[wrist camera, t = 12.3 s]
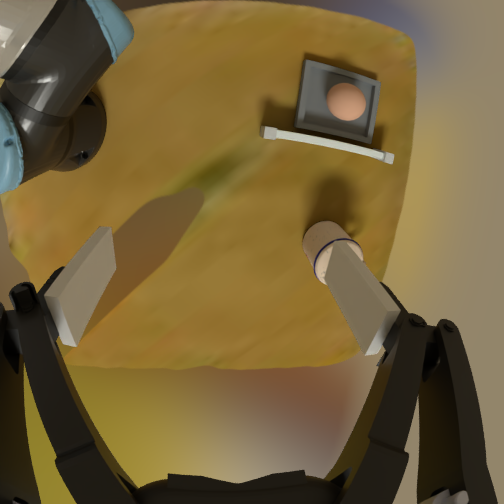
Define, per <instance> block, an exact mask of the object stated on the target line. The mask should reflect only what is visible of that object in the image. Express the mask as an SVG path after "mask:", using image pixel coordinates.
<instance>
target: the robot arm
mask: <svg viewBox="0 0 504 504" xmlns="http://www.w3.org/2000/svg"><path fill="white" fill-rule="evenodd" d="M133 37H134V29H133V26H132V24H131V22H130V21H129V19H128V18H127V17H126V15H125V14H124V13H123V12H122V11H121V10H120V9H119V7H118V6H117V5H116V4H115V3H114V2H113V1H112V0H0V78H2V79H5V81H4V82H3V84H2V86H1V88H0V194H2V193H4V192H6V191H9V190H14V189H16V188H17V187H18V186H19V185H21V184H22V183H24V182H26V181H28V180H30V179H32V178H34V177H36V176H38V175H40V174H42V173H44V172H47V171H49V170H55V171H62V172H65V171H72V170H75V169H77V168H79V167H81V166H83V165H85V164H87V163H88V162H89V161H90V160H91V159H92V158H93V157H94V156H95V155H96V154H97V152H98V151H99V149H100V147H101V145H102V143H103V140H104V137H105V132H106V114H105V110H104V107H103V105H102V103H101V101H100V99H99V98H98V97H97V96H96V95H95V94H94V93H93V92H91V91H90V90H91V89H92V88H93V86H94V85H95V84H96V82H97V81H98V80H99V79H100V77H101V76H102V75H103V74H104V73H105V71H106V70H107V69H108V68H109V67H110V65H111V64H114V63H115V62H116V61H117V58H118V56H119V55H120V54H121V53H122V52H123V51H124V49H125V48H126V47H127V46H128V45H129V44H130V43H131V41H132V39H133ZM115 270H116V263H115V256H114V248H113V239H112V229H111V227H99V228H98V229H97V230H96V231H95V233H94V234H93V235H92V236H91V237H90V238H89V239H88V240H87V242H86V243H85V244H84V245H83V246H82V247H81V249H80V250H79V251H78V252H77V253H76V254H75V256H74V257H73V258H72V259H71V261H70V262H69V263H68V264H67V265H66V267H63V266H62V267H60V268H59V269H57V270H56V271H54V273H53V274H52V275H51V276H50V279H48V280H47V281H46V284H44V285H43V287H42V288H41V289H40V291H39V292H38V293H36V290H35V287H34V285H33V284H32V283H30V282H23V283H20V284H17V285H16V286H14V287H13V288H12V289H11V291H10V293H9V297H10V300H11V302H12V305H13V307H14V310H9V311H5V308H4V306H3V304H2V303H0V504H41V500H40V496H39V491H38V487H37V483H36V480H35V475H34V471H33V466H32V461H31V456H30V451H29V444H28V437H27V429H26V420H25V407H24V374H23V373H24V372H23V371H24V363H25V368H26V372H27V376H28V379H29V383H30V386H31V389H32V393H33V396H34V400H35V403H36V406H37V409H38V412H39V414H40V417H41V420H42V422H43V425H44V428H45V430H46V433H47V435H48V437H49V440H50V442H51V444H52V446H53V448H54V451H55V453H56V456H57V458H56V459H55V464H56V467H57V469H58V471H59V473H60V475H61V477H62V479H63V481H64V483H65V484H66V486H67V488H68V490H69V491H70V493H71V495H72V496H73V498H74V500H75V502H76V503H77V504H392V503H393V501H394V498H395V496H396V494H397V491H398V489H399V486H400V483H401V481H402V478H403V475H404V472H405V469H406V466H407V463H408V459H409V454H408V453H407V452H405V451H404V448H405V445H406V441H407V438H408V434H409V431H410V427H411V423H412V419H413V415H414V410H415V406H416V402H417V397H418V396H419V397H418V398H419V427H420V428H419V437H420V439H419V440H420V441H419V465H418V479H417V504H498V502H497V498H496V495H495V491H494V487H493V484H492V480H491V477H490V474H489V470H488V468H487V463H486V450H485V440H484V432H483V425H482V418H481V413H480V407H479V402H478V397H477V393H476V388H475V384H474V380H473V376H472V372H471V368H470V365H469V361H468V357H467V354H466V351H465V348H464V345H463V341H462V338H461V335H460V332H459V330H458V328H457V326H456V325H455V324H454V323H453V322H452V321H450V320H447V319H441V320H440V321H439V322H438V324H437V326H430V325H427V323H426V322H425V320H424V319H423V318H422V317H420V316H418V315H416V314H413V313H408V312H407V310H406V309H405V308H404V307H403V305H402V304H401V303H400V301H399V300H398V299H397V297H396V296H395V295H394V294H393V292H392V291H391V290H390V289H389V287H387V286H386V285H385V284H383V283H382V282H379V281H378V280H377V279H376V278H375V276H374V275H373V274H372V273H371V271H370V270H369V269H368V268H367V266H366V265H365V264H364V263H363V262H362V260H361V259H360V258H359V257H358V256H357V254H356V253H355V252H354V251H353V250H352V248H351V247H350V246H349V245H348V244H347V243H346V241H334V245H333V248H332V252H331V256H330V259H329V263H328V266H327V270H326V273H325V277H324V280H325V282H326V284H327V285H328V287H329V289H330V291H331V293H332V295H333V296H334V298H335V300H336V302H337V304H338V306H339V307H340V309H341V311H342V313H343V315H344V317H345V319H346V321H347V322H348V324H349V326H350V328H351V330H352V332H353V334H354V336H355V338H356V340H357V342H358V344H359V346H360V348H361V349H362V351H363V353H364V355H372V354H377V353H378V352H379V350H380V348H381V347H382V345H383V346H384V348H385V350H386V351H385V352H384V354H383V356H382V357H381V359H380V361H379V362H378V364H377V366H379V368H378V370H377V373H376V376H375V379H374V381H373V384H372V387H371V389H370V392H369V394H368V397H367V399H366V402H365V404H364V406H363V409H362V411H361V413H360V416H359V418H358V420H357V422H356V425H355V427H354V429H353V431H352V433H351V435H350V437H349V439H348V441H347V443H346V445H345V447H344V449H343V451H342V453H341V455H340V457H339V459H338V460H337V462H336V464H335V465H334V467H333V468H332V469H331V471H330V472H329V473H328V474H327V476H326V477H325V478H324V479H321V478H317V477H313V476H306V475H305V471H304V470H299V471H292V472H284V473H275V474H270V475H267V476H264V477H261V478H258V479H254V480H251V481H247V482H244V483H239V484H238V483H231V482H226V481H221V480H216V479H212V478H208V477H204V476H192V475H179V474H168V479H164V480H159V481H155V482H151V483H149V484H146V485H144V486H142V487H140V488H138V487H137V486H136V485H135V484H134V482H133V481H132V480H131V479H130V477H129V476H128V475H127V474H126V473H125V471H124V470H123V469H122V468H121V466H120V465H119V463H118V462H117V461H116V459H115V458H114V456H113V455H112V453H111V452H110V450H109V449H108V447H107V445H106V444H105V442H104V441H103V439H102V437H101V436H100V434H99V432H98V430H97V429H96V427H95V426H94V423H93V422H92V420H91V419H90V416H89V414H88V412H87V411H86V409H85V407H84V405H83V403H82V401H81V399H80V397H79V395H78V392H77V390H76V388H75V386H74V384H73V382H72V379H71V377H70V375H69V372H68V370H67V368H66V365H65V363H64V360H63V358H62V355H61V352H60V350H59V347H58V345H57V342H56V340H57V338H58V336H60V338H61V340H62V343H63V344H65V345H70V346H74V347H77V345H78V343H79V341H80V339H81V336H82V334H83V332H84V330H85V328H86V326H87V323H88V321H89V319H90V317H91V315H92V313H93V311H94V309H95V307H96V305H97V303H98V301H99V299H100V297H101V296H102V294H103V292H104V290H105V288H106V286H107V284H108V282H109V280H110V279H111V277H112V275H113V273H114V272H115ZM439 362H440V363H439Z"/></svg>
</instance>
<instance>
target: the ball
mask: <svg viewBox="0 0 504 504" xmlns="http://www.w3.org/2000/svg"><path fill="white" fill-rule="evenodd" d="M326 102H327V106H328V109H329V110H330V112H331V113H332V114H333V115H334V116H335V117H337V118H339V119H341V120H346V121H350V120H355V119H357V118H359V117H360V116H361V115H362V114H363V112H364V110H365V107H366V100H365V97H364V95H363V93H362V91H361V90H360V89H359V88H357V87H356V86H354V85H352V84H349V83H340V84H337V85H335V86H333V87H332V88H331V89H330V90H329V92H328V94H327V98H326Z"/></svg>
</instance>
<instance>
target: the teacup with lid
mask: <svg viewBox="0 0 504 504" xmlns="http://www.w3.org/2000/svg"><path fill="white" fill-rule="evenodd" d="M334 241H346V243H347V244H348V245H349V246H350V247H351V248H352V250H353V251H354V252H355V253H356V254H357V256H358V257H359V258H360V259H361V260H362V262H363V263H364V264H365V265H366V263H365V261H364V260H363V253H362V249H361V247H360V246H359V244H358V243H357V242H355V241H354V240H352V239H351V238H350V237H349V235H348V234H347V233H346V232H345V231H344V230H343V229H342V228H341V227H340V226H339V225H338V224H336V223H334V222H332V221H322V222H318V223H316V224H314V225H313V226H312V227H310V228H309V229H308V231H307V232H306V234H305V236H304V239H303V249H304V252H305V254H306V256H307V258H308V259H309V261H310V263H311V265H312V267H313V269H314V273H315V275H316V277H317V278H318V280H320V281H321V282H322V283H324V284H326V282H325V280H324V277H325V273H326V270H327V266H328V263H329V259H330V256H331V252H332V248H333V245H334ZM326 285H327V284H326Z"/></svg>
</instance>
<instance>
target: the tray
mask: <svg viewBox="0 0 504 504" xmlns="http://www.w3.org/2000/svg"><path fill="white" fill-rule="evenodd" d="M340 83H349V84H352V85H354V86H356V87H357V88H359V89H360V90H361V91H362V93H363V95H364V97H365V100H366V107H365V110H364V112H363V114H362V115H361V116H360V117H359V118H357V119H355V120H350V121H346V120H341V119H339V118H337V117H335V116H334V115H333V114H332V113H331V112H330V110H329V109H328V106H327V102H326V98H327V94H328V92H329V90H330V89H331V88H332V87H333V86H335V85H337V84H340ZM380 86H381V82H379V81H376V80H373V79H371V78H368V77H365V76H362V75H359V74H356V73H353V72H350V71H347V70H344V69H340V68H337V67H334V66H330V65H326V64H323V63H319V62H315V61H311V60H305V61H303V68H302V75H301V82H300V89H299V96H298V103H297V110H296V116H295V123H294V127H297V128H303V129H308V130H313V131H318V132H323V133H328V134H332V135H337V136H341V137H345V138H349V139H353V140H357V141H361V142H365V143H368V144H371V142H372V137H373V131H374V126H375V120H376V114H377V107H378V100H379V93H380Z"/></svg>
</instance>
